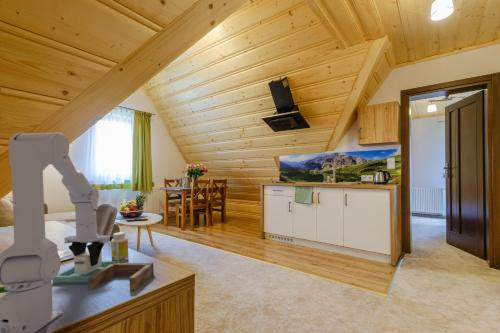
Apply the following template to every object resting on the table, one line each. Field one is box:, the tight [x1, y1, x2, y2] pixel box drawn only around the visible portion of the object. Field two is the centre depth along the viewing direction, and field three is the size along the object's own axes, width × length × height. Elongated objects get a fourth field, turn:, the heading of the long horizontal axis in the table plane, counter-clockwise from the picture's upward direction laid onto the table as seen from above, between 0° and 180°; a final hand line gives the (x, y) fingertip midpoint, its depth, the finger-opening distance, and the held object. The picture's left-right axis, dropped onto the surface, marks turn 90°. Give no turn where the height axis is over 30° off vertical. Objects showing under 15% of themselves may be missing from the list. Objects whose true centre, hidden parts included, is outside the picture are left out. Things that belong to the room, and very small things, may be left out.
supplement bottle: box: [110, 231, 129, 263], centre depth 93 cm, size 6×6×10 cm
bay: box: [88, 262, 155, 291], centre depth 76 cm, size 10×14×4 cm
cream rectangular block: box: [73, 250, 103, 275], centre depth 82 cm, size 8×4×6 cm, turn 173°
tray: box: [52, 260, 119, 285], centre depth 82 cm, size 13×13×2 cm
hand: (88, 264), depth 82 cm, fingers closed on cream rectangular block, 4 cm apart
